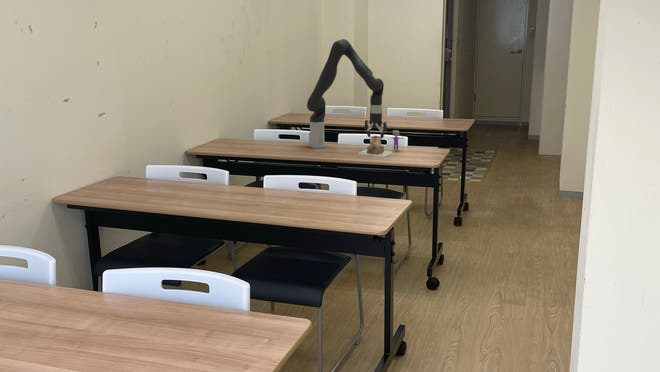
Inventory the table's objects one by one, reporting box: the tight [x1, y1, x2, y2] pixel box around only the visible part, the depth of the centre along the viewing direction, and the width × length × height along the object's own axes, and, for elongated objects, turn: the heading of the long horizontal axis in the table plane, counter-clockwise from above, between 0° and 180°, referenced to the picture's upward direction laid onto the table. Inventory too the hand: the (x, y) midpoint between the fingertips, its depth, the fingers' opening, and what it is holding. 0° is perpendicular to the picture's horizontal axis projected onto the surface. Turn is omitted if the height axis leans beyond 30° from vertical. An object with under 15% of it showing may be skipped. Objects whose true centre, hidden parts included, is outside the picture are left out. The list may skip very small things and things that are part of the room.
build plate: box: [357, 148, 393, 158], centre depth 388 cm, size 18×14×2 cm
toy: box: [392, 129, 405, 152], centre depth 389 cm, size 10×6×15 cm, turn 84°
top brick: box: [369, 135, 382, 148], centre depth 385 cm, size 5×5×7 cm
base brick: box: [366, 144, 385, 155], centre depth 387 cm, size 8×8×4 cm
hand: (375, 137), depth 385 cm, fingers open, 8 cm apart
